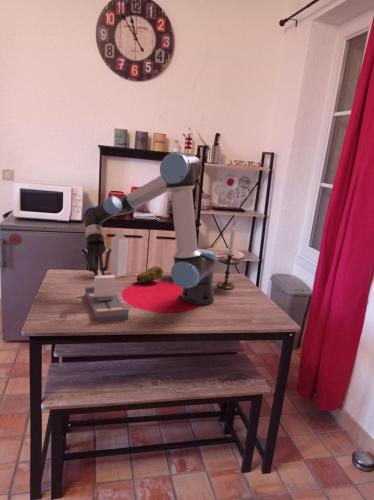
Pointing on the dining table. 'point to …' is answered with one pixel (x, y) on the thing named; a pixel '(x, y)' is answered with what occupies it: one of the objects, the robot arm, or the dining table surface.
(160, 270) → the potato
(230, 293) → the dining table surface
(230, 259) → the candlestick
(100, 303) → the fader deck
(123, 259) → the milk
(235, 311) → the dining table surface
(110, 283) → the fader knob
